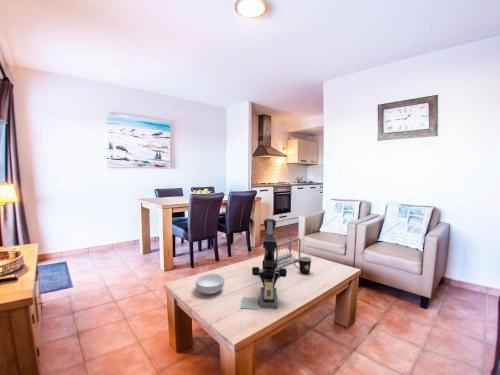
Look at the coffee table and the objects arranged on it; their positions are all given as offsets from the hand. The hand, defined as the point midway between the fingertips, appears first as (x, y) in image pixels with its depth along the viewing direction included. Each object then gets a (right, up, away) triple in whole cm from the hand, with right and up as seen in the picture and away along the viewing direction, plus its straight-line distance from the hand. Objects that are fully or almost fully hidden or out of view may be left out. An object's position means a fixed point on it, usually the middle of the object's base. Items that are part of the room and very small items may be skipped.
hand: (268, 287), depth 132 cm
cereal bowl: (-34, -8, +16) cm, 38 cm away
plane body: (0, -9, +7) cm, 12 cm away
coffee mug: (+27, -7, +44) cm, 52 cm away
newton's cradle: (+16, -6, +62) cm, 64 cm away
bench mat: (-10, -9, +3) cm, 14 cm away
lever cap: (0, -6, +2) cm, 7 cm away
